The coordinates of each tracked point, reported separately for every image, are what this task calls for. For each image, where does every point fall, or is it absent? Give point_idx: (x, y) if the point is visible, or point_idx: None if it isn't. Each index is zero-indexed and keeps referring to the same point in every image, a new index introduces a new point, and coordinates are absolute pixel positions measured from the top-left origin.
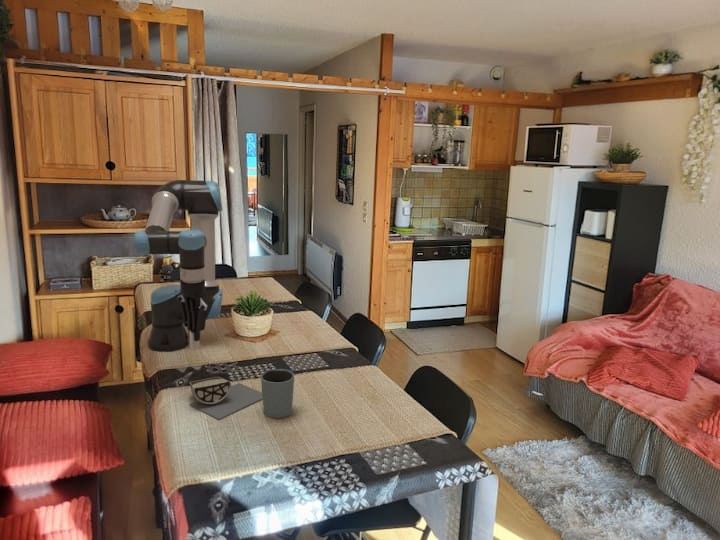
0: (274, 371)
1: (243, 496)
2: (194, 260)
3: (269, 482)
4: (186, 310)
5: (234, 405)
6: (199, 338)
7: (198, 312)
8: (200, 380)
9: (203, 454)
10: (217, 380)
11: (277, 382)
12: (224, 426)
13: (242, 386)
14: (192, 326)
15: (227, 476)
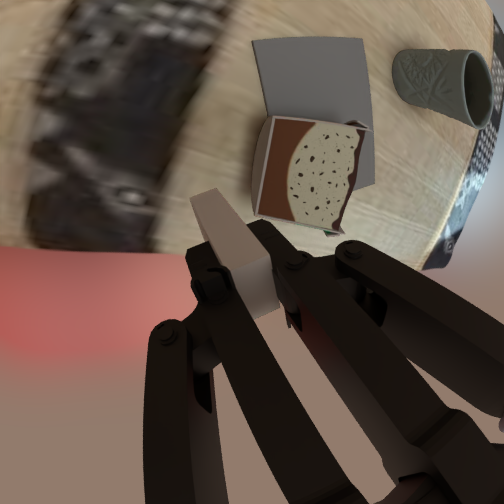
0: (461, 65)
1: (458, 225)
2: None
3: (465, 196)
4: (215, 499)
5: None
6: (273, 229)
7: (471, 403)
8: (267, 181)
9: (410, 237)
10: (317, 142)
11: (489, 117)
12: (390, 183)
13: (282, 47)
14: (303, 340)
15: (442, 227)
